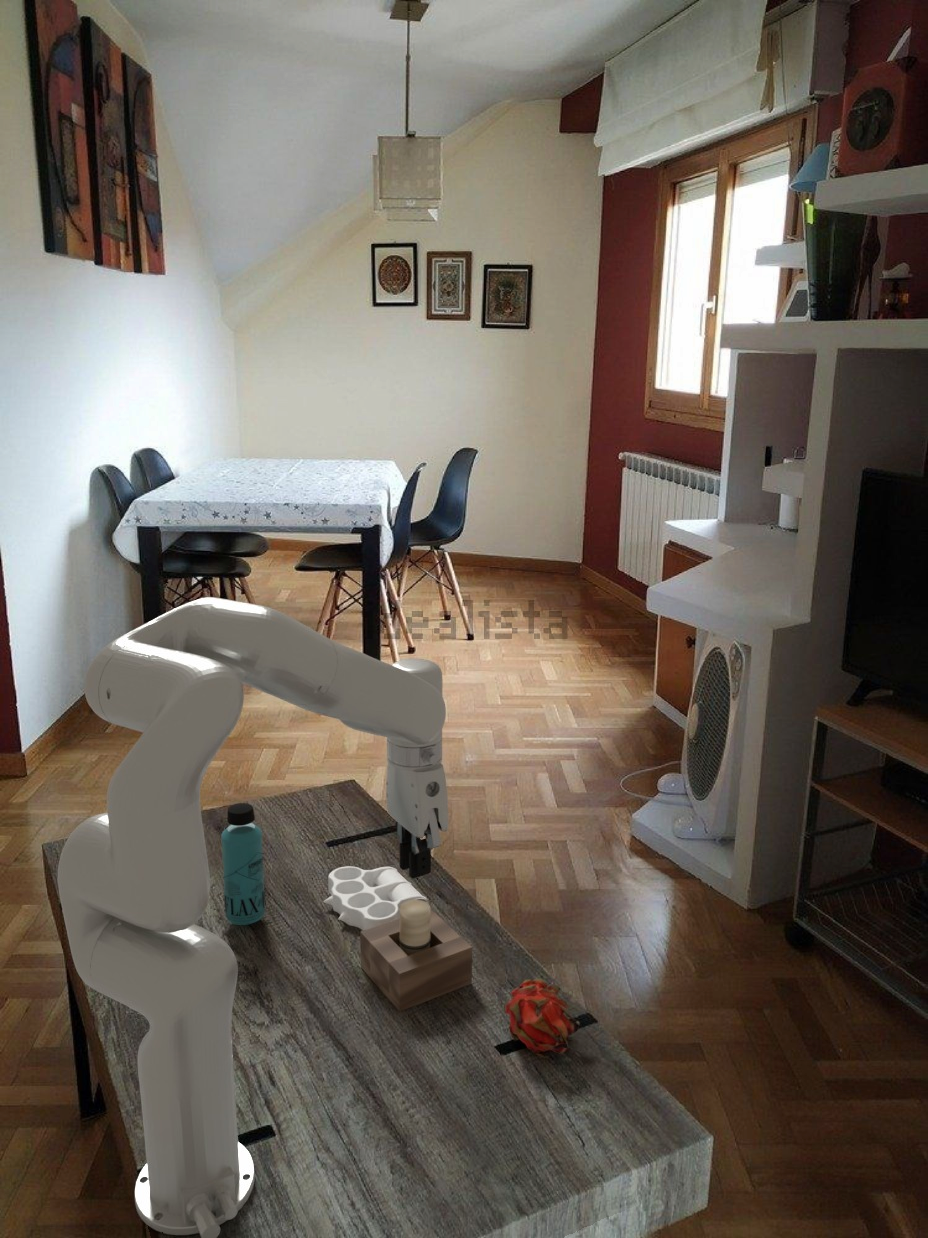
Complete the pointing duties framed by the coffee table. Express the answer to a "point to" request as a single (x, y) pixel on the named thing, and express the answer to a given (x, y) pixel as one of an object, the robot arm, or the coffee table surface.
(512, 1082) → the coffee table surface
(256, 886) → the beverage bottle
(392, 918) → the knuckle duster
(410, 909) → the peg
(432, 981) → the socket block
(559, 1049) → the dragon fruit
